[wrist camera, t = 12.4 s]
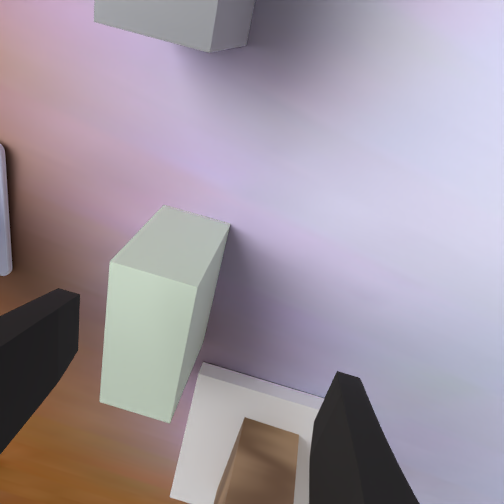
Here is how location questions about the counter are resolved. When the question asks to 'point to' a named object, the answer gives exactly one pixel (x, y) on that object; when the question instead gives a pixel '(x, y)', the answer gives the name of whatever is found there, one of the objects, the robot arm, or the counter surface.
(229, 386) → the white mat
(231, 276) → the counter surface
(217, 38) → the grey brick
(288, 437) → the walnut brick
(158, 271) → the sage brick
